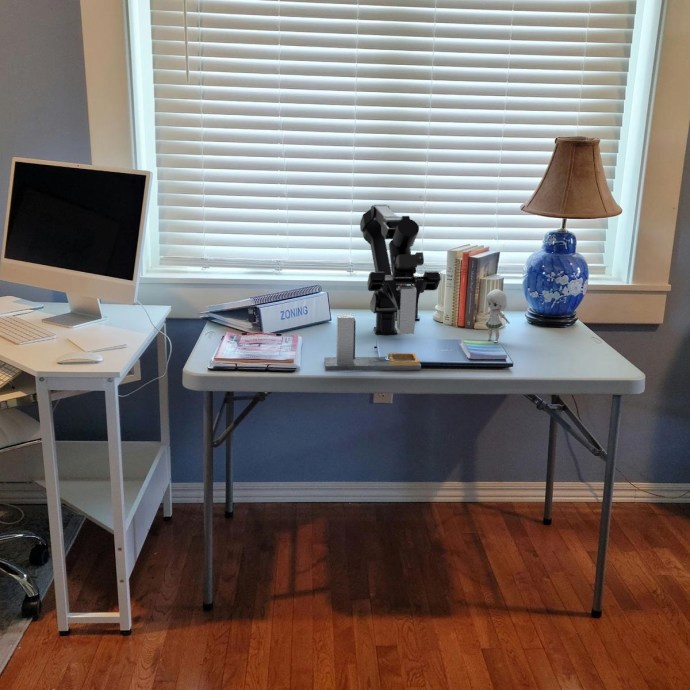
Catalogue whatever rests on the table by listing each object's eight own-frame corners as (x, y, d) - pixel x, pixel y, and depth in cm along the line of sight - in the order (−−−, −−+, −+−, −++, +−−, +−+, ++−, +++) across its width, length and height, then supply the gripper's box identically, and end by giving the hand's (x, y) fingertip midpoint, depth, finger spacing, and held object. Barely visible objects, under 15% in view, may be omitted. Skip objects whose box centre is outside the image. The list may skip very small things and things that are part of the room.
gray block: (395, 329, 206) (397, 285, 202) (411, 329, 206) (413, 285, 202) (398, 334, 202) (400, 289, 198) (414, 333, 202) (416, 289, 199)
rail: (324, 361, 200) (324, 312, 197) (416, 361, 202) (418, 312, 198) (325, 370, 193) (325, 319, 190) (420, 370, 195) (423, 319, 191)
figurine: (472, 338, 223) (476, 287, 219) (486, 335, 227) (490, 284, 222) (501, 347, 215) (505, 294, 211) (515, 343, 219) (519, 291, 215)
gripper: (370, 241, 199) (375, 293, 192) (441, 241, 202) (449, 292, 195) (365, 264, 209) (370, 315, 202) (432, 264, 212) (439, 314, 205)
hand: (407, 308), depth 201 cm, fingers closed on gray block, 4 cm apart
